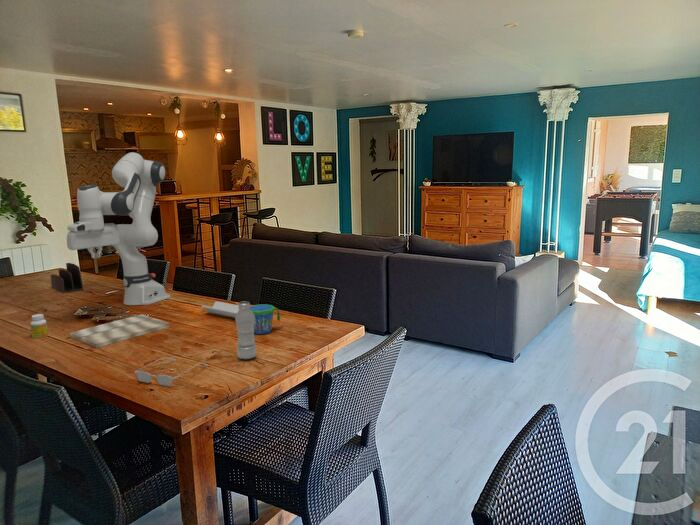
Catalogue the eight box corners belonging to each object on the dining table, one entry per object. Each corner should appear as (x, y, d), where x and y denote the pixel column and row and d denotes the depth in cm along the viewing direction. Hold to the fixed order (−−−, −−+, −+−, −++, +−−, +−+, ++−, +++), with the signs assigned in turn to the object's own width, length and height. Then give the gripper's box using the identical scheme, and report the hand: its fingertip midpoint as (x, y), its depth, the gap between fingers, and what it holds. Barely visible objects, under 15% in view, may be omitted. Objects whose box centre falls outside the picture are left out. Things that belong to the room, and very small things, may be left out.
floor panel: (143, 318, 219) (142, 313, 218) (175, 329, 204) (174, 323, 203) (66, 339, 194) (65, 333, 194) (96, 352, 179) (95, 346, 179)
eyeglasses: (134, 382, 155) (133, 370, 154) (173, 361, 171) (172, 350, 171) (174, 389, 149) (173, 376, 149) (210, 366, 166) (209, 355, 165)
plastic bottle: (238, 355, 174) (235, 300, 170) (258, 354, 175) (255, 299, 171) (236, 362, 168) (232, 305, 164) (256, 361, 169) (252, 304, 165)
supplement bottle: (32, 342, 192) (28, 318, 190) (33, 338, 196) (30, 314, 195) (48, 339, 194) (44, 316, 192) (49, 335, 199) (45, 312, 197)
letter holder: (70, 284, 288) (67, 261, 285) (83, 290, 275) (80, 265, 272) (51, 288, 281) (48, 263, 278) (64, 293, 268) (60, 268, 265)
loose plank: (154, 321, 211) (153, 318, 211) (169, 326, 204) (169, 323, 204) (81, 341, 188) (81, 337, 188) (96, 347, 181) (95, 344, 181)
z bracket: (217, 319, 231) (223, 307, 234) (256, 327, 218) (262, 315, 220) (201, 306, 222) (208, 294, 225) (241, 314, 209) (248, 301, 212)
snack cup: (277, 325, 207) (276, 301, 205) (284, 332, 197) (283, 308, 195) (240, 331, 200) (238, 306, 198) (245, 338, 191) (244, 313, 189)
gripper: (113, 222, 214) (116, 253, 217) (63, 227, 198) (67, 260, 201) (120, 222, 210) (123, 254, 213) (69, 227, 195) (74, 262, 197)
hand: (96, 257), depth 207 cm, fingers closed
